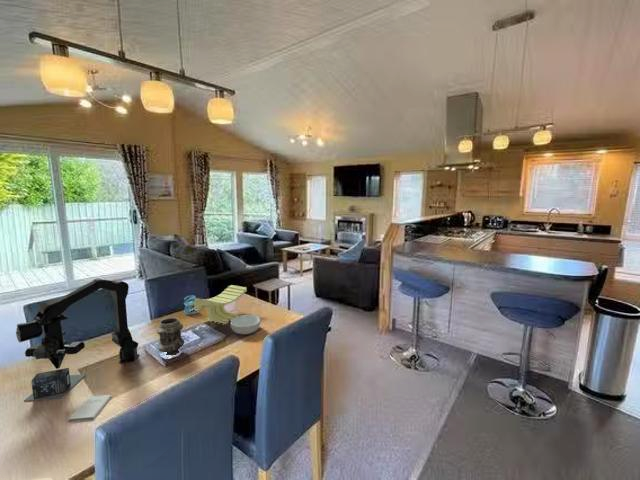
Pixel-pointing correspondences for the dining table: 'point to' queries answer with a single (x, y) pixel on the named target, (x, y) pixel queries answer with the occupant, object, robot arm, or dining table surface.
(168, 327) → the apothecary jar
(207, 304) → the slatted curved stool
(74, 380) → the mat
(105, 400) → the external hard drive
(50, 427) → the dining table surface
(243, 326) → the cereal bowl
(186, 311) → the blue patterned cup
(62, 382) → the box
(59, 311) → the robot arm
